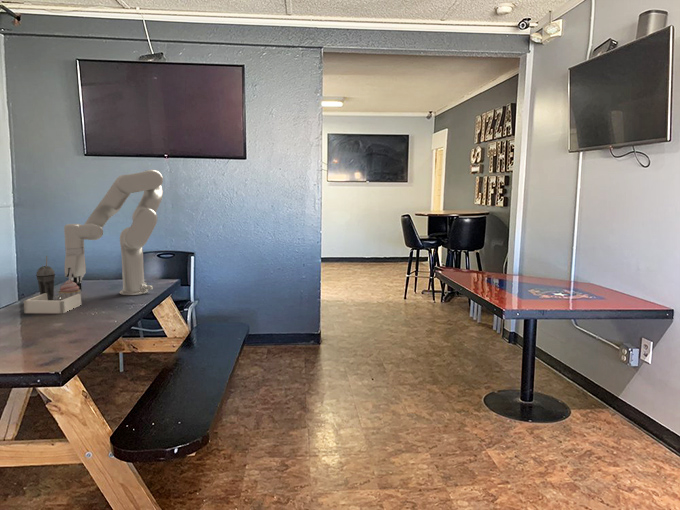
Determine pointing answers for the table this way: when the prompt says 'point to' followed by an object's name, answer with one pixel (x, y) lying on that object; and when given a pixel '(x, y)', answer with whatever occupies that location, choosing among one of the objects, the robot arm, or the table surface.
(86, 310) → the table surface
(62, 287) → the cupcake
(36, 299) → the box
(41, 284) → the beverage cup
